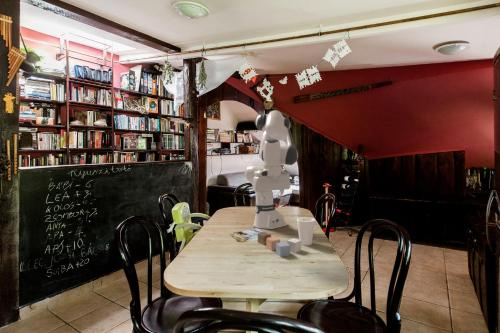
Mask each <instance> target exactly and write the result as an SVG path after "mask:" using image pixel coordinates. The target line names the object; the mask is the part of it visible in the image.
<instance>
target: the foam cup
mask: <svg viewBox="0 0 500 333" xmlns="http://www.w3.org/2000/svg"><path fill="white" fill-rule="evenodd" d="M296 222H297V223H296V225H297V230H298V232H297V233H298V240H301V246H312V244H313V238H314V233H315V232H314V230H315V225H316V219H315V218H314V217H308V216H301V217H297V219H296Z"/></svg>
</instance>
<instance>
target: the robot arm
mask: <svg viewBox="0 0 500 333" xmlns="http://www.w3.org/2000/svg"><path fill="white" fill-rule="evenodd" d="M255 125H256V128H257V130H260V131H263V134H262V136H261V138H260V144H259V150H258V156H259V158H260V159H261V161H263V164H261V165H258V164H257V165H256V164H254V165H250V166H247V167H246V168H245V169H246V170H245V172H244V175H245V176H244V177H245V178H246V180H247V181H248V182H249V183H250V184H251V185H252V191H254V192H255V204H254V205H255V206H254V211H255V216H254V221H253V227H255V228H258V229H267V230H273V229H278V228H282V227H286V226H288V225H289V223H288V222H287V221H285V218H284V215H283V214H282V213H281V212H280V211H279V210H277V209H278V208H279V204H275V203H274V192H273V191H279V194H277V199H280V200H281V199H283V194H284V193H285V190H290V189H291V180H290V179H291V178H290V176H291V175H290V173H289V172H288V170H287V171H286V170H284V168H283V167H282V165H287V166H293V165H294V164H296V163H297V161H298V157H299V154H298V153H299V152H298V150H297V147H296V145H295V142H294V141H295V140H294V138H293V134H292V133H291V132H292V131H291V130H290V128H291V121H290V119H289V118H288V117H285V116H283V113H282V112H281V111H279V110H276V109H275V110H271V111H269V113H267V114H265V113H259V114H258V115H257V117H256V119H255ZM280 141H282V142H285V145H281V142H280Z"/></svg>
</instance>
